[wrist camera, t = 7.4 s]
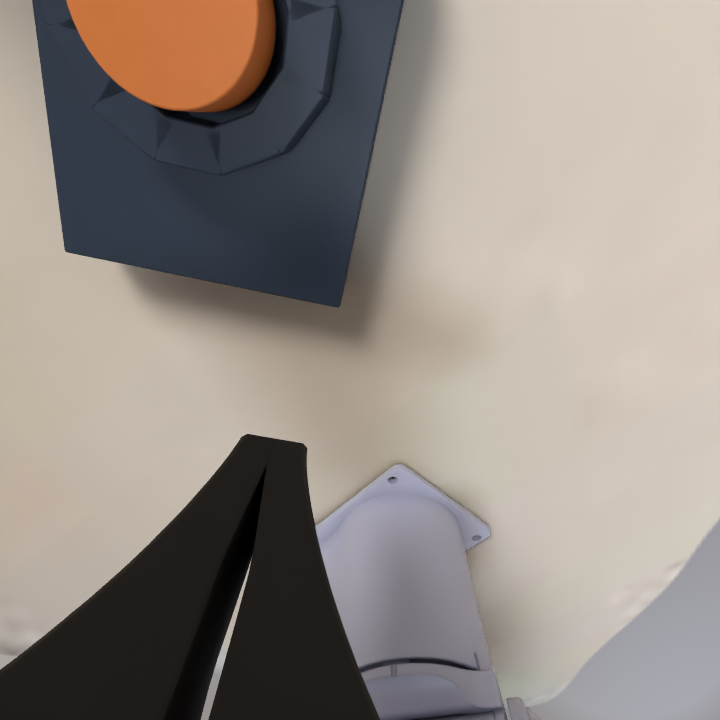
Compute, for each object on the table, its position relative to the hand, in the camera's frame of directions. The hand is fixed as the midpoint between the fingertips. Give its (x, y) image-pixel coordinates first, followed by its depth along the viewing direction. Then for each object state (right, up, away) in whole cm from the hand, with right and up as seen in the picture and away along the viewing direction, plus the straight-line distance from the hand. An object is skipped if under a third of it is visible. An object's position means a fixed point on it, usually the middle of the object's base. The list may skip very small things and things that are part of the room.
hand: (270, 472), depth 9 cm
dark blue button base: (-2, +12, +5) cm, 13 cm away
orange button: (-2, +11, +1) cm, 11 cm away
